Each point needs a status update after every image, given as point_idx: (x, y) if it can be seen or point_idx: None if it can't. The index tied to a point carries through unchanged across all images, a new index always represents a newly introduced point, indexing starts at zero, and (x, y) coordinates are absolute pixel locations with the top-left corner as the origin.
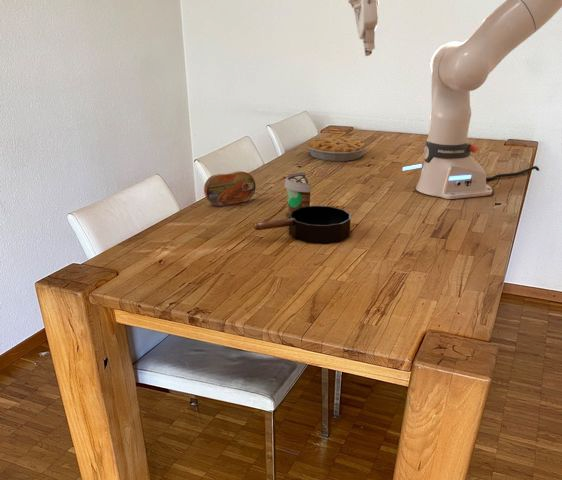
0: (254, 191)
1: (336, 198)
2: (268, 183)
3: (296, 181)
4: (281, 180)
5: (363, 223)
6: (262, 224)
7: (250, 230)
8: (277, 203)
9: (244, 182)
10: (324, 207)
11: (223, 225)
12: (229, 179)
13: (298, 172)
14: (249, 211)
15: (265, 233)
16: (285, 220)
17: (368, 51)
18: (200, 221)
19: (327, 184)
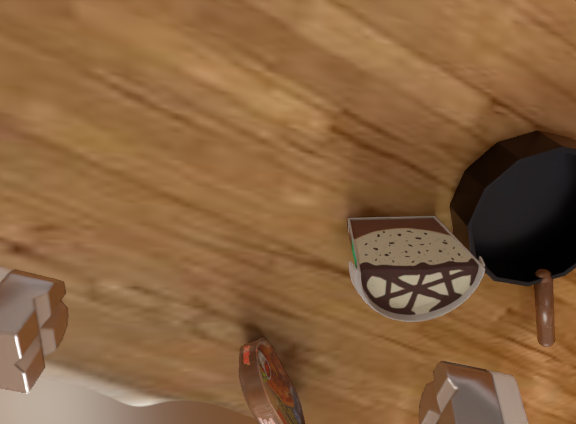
0: (259, 341)
1: (252, 119)
2: (90, 294)
3: (419, 293)
4: (51, 260)
5: (489, 81)
6: (554, 334)
7: (462, 330)
8: (284, 277)
9: (267, 379)
10: (481, 203)
11: (419, 374)
12: (281, 416)
13: (363, 291)
14: (338, 333)
15: (487, 304)
16: (552, 294)
17: (37, 328)
18: (386, 410)
19: (87, 125)
